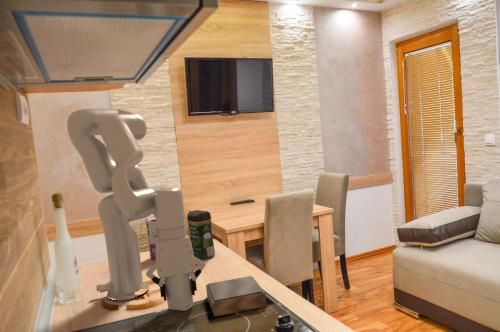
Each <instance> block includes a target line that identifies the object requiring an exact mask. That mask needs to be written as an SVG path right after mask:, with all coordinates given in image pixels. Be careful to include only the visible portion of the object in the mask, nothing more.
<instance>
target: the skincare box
mask: <svg viewBox="0 0 500 332" xmlns="http://www.w3.org/2000/svg"><path fill="white" fill-rule="evenodd" d="M176 271H177V276H174V277H168V278H166V279H165V281H164V284H165V289H166V298H167V300H166V302H167V308H168V309H169V310H175V311H182V312H187V311H188V310H189V309H191V308H192V307H193V306H194V295H192V290H191V283H190V279H191V277H190V276H189V274H185V275H182V272H181V267H180V268H176Z"/></svg>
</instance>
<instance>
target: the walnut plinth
mask: <svg viewBox="0 0 500 332" xmlns="http://www.w3.org/2000/svg"><path fill="white" fill-rule="evenodd" d="M205 288H206V298H207V300H208V303H209V305H210V308H211V312H212V314H213V317H214V318H215V317H219V316H224V315H229V314H235V313H239V312H244V311H249V310H253V309H258V308H264V306H265V307H267V298H266V292H265V291H264V290H263V288H262V287H261V286H260V285H259V283H258V282H257V280H256V279H255V278H254V276H252V275H249V276H242V277H238V278H232V279H227V280H226V279H225V280H221V281H216V282H211V283H207V284H205Z"/></svg>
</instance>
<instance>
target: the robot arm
mask: <svg viewBox="0 0 500 332" xmlns="http://www.w3.org/2000/svg"><path fill="white" fill-rule="evenodd" d="M66 124H67V125H66V127H67V132H68V137H69V139H70V141H71V144H72V145H73V147H74V148H75V150H76V151H77V152H78V154H79V156H80V158H81V159H82V161H83V165H84V167H85V170H86V172H87V174H88V176H89V179H90V183H91V184H92V186H93V188H94V190H95V191H96V192H97V193H99V194H109V193H112V194H110V195H107V196H105V197H103V198H102V199H101V200H100V201H99V204H98V206H97V212H98V217H99V219H100V223H101V226H102V228H103V229H102V230H103V234H104V240H105V246H106V247H105V248H106V255H107V263H108V270H109V271H108V272H109V277H110V278H109V279H110V280H109V282H108V281H107V282H106V283H104V284H103V283H100V284H96V288H95V289H96V292H99V293H104V292H107V293H106V297H107V296H108V297H109V298H113V299H116V300H117V301H116V302H123V301H129V300H134V299H136V298H135V295H134V293H135V292H137V291H139V290H140V289H145V290H146V289H148V288H149V284H148V283H146V282H144V279H143V272H142V271H143V270H142V264H141V256H140V255H141V254H140V246H139V238H138V235H137V232H136V230H135V229H134V228H133V227H132V226H131V225H130V223H131V222H133V221H137V220H142V219H145V218H148V217H150V216H151V215H155V218H156V222H157V230H156V231H155V232H152V234H153V237H154V236H156V237H157V238H159V239H157V240H156V260H155V262H154V263H153V264H152V266H150V268H149V269H148V270H147V271H146V272H145V276H146V277H147V278H149V279H150V280H151V281H152V282H153V283H154V284H156V285H157V286H158V287H159V290H160V291H159V292H160V298H163V301H164V302H167V296H166V289H165V283H164V281H165V279H166V278H168V277H174V276H177V271H176V268H180V267H181V272H182V275H185V274H189V276H190V283H191V290H192V296H195V295H196V291H198V289H197V279H198V277H200V275H201V274H202V271H203V270H204V269H205V267H206V262H205V261H203V260H202V259H198V258H196V257H195V256H194V255H193V249H192V244H191V240H190V235H188V234H187V229H186V220H185V219H186V218H185V211H184V202H183V193H182V191H181V189H180V188H178V187H164V186H158V185H157V186H152V187H149V186H148V183H147V181H146V178H145V176H144V174H143V172H142V169H141V168H140V166H138V165H139V164H140V163H141V162H142V160H143V158H144V152H143V150H142V149H141V146H140V145H139V143H138V141H140V140H143V139H144V138H145V136H146V134H147V123H146V121H145V119H144V118H143V117H142V116H141V115H139V114H137V113H135V112H131V111H128V110H123V109H120V108H81V109H80V108H79V109H77V110H74V111H72V112H70V114H69V115H68V117H67V123H66ZM96 136H101V139H102V140H103V142H104V143H103V142H102V141H101V140H100V139H99V138H97V137H96ZM195 264H196V265H198V267H197V268H196V265H195ZM154 272H157V273H156V274H157V276H156V275H155V274H154ZM149 289H150V288H149Z"/></svg>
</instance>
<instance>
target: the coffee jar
mask: <svg viewBox="0 0 500 332" xmlns="http://www.w3.org/2000/svg"><path fill="white" fill-rule="evenodd" d="M186 220H187V224H188V231H189V237H190V240H191V244H192V249H193V255H194V256H195V257H196V258H198V259H200V260H203V259H204V260H205V259H211V258H213V257H214V256H215V255H216V251H215V250H216V249H215V245H214V238H213V231H212V215H211V212H210V211H207V210H202V209H201V210H200V209H193V210H191V211H188V213H187V219H186Z"/></svg>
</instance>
